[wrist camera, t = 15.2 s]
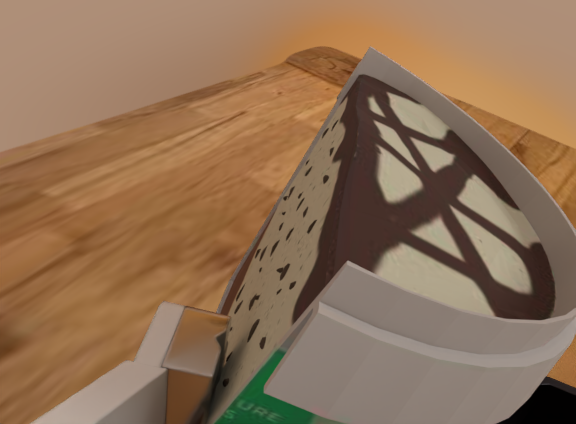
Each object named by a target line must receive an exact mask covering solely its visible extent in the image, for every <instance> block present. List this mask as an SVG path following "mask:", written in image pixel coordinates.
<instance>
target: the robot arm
mask: <svg viewBox="0 0 576 424" xmlns="http://www.w3.org/2000/svg"><path fill="white" fill-rule="evenodd" d="M231 320H232V317H231V316H227V315H223V314H218V313H214V312H210V311H206V310H202V309H198V308H193V307H189V306H184V305H179V304H175V303H171V302H167V301H163V302H162V303H161V304H160V306H159V307H158V309H157V311H156V313H155V316H154V318H153V320H152V322H151V324H150V326H149V329H148V331H147V333H146V335H145V337H144V339H143V341H142V344H141V346H140V348H139V350H138V352H137V354H136V357H135V359H134V361H129V360H126V361H124V362H123V363H121V364H120V365H118V366H117V367H115V368H113V369H112V370H110V371H109V372H107V373H106V374H104V375H103V376H101V377H100V378H98V379H97V380H95V381H94V382H92V383H91V384H89V385H88V386H86V387H85V388H83V389H82V390H80V391H78V392H77V393H75V394H74V395H72V396H71V397H69V398H68V399H66V400H65V401H63V402H62V403H60V404H59V405H57V406H56V407H54V408H53V409H51V410H50V411H48V412H47V413H45V414H44V415H42V416H40V417H39V418H37V419H36V420H34V421H33V422H31V423H30V424H207V421H208V418H209V414H210V411H211V408H212V404H213V401H214V398H215V392H216V386H217V384H218V382H219V381H220V377H221V374H222V371H223V367H224V363H225V359H226V353H227V348H228V341H227V339H228V336H229V332H230V328H231Z"/></svg>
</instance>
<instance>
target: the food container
mask: <svg viewBox="0 0 576 424" xmlns="http://www.w3.org/2000/svg"><path fill="white" fill-rule="evenodd" d="M216 313H218V314H223V315H227V316H231V317H232V320H231V328H230V332H229V336H228V339H227V341H228V348H227V353H226V359H225V363H224V367H223V371H222V374H221V377H220V381H219V382H218V384H217V386H216V392H215V398H214V401H213V404H212V408H211V411H210V414H209V418H208V421H207V424H496V423H499V422H501V421H503V420H505V419H508V418H509V417H510V416H511V415H512V414H513V413H514V412H516V411H517V410H518V409H519V408H520V407H521V406H522V405H523V404H524V403H525V402H526V401H527V400H528V399H529V398H530V397H531V395H532V394H533V393H534V391H535V390H536V389H537V387H538V386H539V385H540V384H541V382H542V381H543V380H544V378H545V377H546V376H547V374H548V373H549V372H550V370H551V369H552V368H553V366H554V365H555V364H556V362H557V361H558V360H559V359H560V357H561V356H562V355H563V353H564V352H565V351H566V349H567V348H568V347H569V345H570V344H571V343H572V340H573V338H574V336H575V334H576V230H575V228H574V227H573V225H572V224H571V222H570V221H569V219H568V218H567V216H566V215H565V213H564V212H563V210H562V209H561V208H560V206H559V205H558V204H557V203H556V201H555V200H554V199H553V198H552V196H551V195H550V194H549V193H548V191H547V190H546V189H545V188H544V187H543V185H542V184H541V183H540V182H539V181H538V180H537V179H536V178H535V177H534V175H533V174H532V173H531V172H530V171H529V170H528V169H527V168H526V167H525V166H524V165H523V164H522V163H521V162H520V161H519V160H518V159H517V158H516V157H515V156H514V155H513V154H512V153H511V152H510V151H509V150H508V149H507V148H506V147H505V146H504V145H503V144H501V143H500V142H499V141H498V140H497V139H496V138H495V137H494V136H493V135H492V134H490V133H489V132H488V131H487V130H486V129H485V128H484V127H482V126H481V125H480V124H479V123H478V122H476V121H475V120H474V119H473V118H472V117H470V116H469V115H468V114H467V113H466V112H464V111H463V110H462V109H461V108H459V107H458V106H457V105H455V104H454V103H453V102H452V101H450V100H449V99H448V98H446V97H445V96H444V95H442V94H441V93H440V92H438V91H437V90H436V89H434V88H433V87H431V86H430V85H429V84H427V83H426V82H425V81H423V80H422V79H420V78H419V77H417V76H416V75H414V74H413V73H411V72H410V71H408V70H407V69H405V68H404V67H402V66H401V65H399V64H398V63H396V62H395V61H393V60H391V59H390V58H388V57H387V56H385V55H384V54H382V53H380V52H378V51H377V50H375V49H374V48H372V47H370V48H369V49H368V51H367V52H366V54H365V56H364V57H363V59H362V60H361V62H359V64H358V65H357V67H356V69H355V70H354V72H353V73H352V75H351V76H350V78H349V79H348V81H347V83H346V84H345V86H344V87H343V89H342V90H341V92H340V94H339V95H338V97H337V102H336V104H335V105H334V107H333V109H332V110H331V112H330V114H329V115H328V117H327V119H326V120H325V122H324V124H323V125H322V127H321V129H320V130H319V132H318V134H317V135H316V137H315V139H314V140H313V142H312V144H311V145H310V147H309V149H308V150H307V152H306V154H305V155H304V157H303V159H302V160H301V162H300V164H299V165H298V167H297V169H296V170H295V172H294V174H293V175H292V177H291V179H290V180H289V182H288V184H287V185H286V187H285V189H284V190H283V192H282V194H281V195H280V197H279V199H278V200H277V202H276V204H275V205H274V207H273V209H272V210H271V212H270V214H269V215H268V217H267V219H266V220H265V222H264V224H263V225H262V227H261V229H260V230H259V232H258V234H257V235H256V237H255V239H254V240H253V242H252V244H251V245H250V247H249V249H248V250H247V252H246V254H245V255H244V257H243V259H242V260H241V262H240V264H239V265H238V267H237V269H236V270H235V272H234V274H233V275H232V277H231V279H230V280H229V283H228V285H227V287H226V290H225V292H224V295H223V297H222V299H221V302H220V304H219V307H218V309H217V311H216Z"/></svg>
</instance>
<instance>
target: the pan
mask: <svg viewBox="0 0 576 424" xmlns="http://www.w3.org/2000/svg"><path fill="white" fill-rule="evenodd" d="M496 424H576V388H575V387H572V386H570V385H567V384H565V383H562V382H560V381H558V380H555V379H553V378H550V377H547V376H546V377H545V378H544V380H543V381H542V382H541V384H540V385H539V386H538V387H537V389H536V390H535V391H534V393H533V394H532V395H531V397H530V398H529V399H528V400H527V401H526V402H525V403H524V404H523V405H522V406H521V407H520V408H519V409H518V410H517V411H516V412H514V413H513V414H512V415H511V416H510V417H509V418H508V419H505V420H503V421H501V422H499V423H496Z"/></svg>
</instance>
